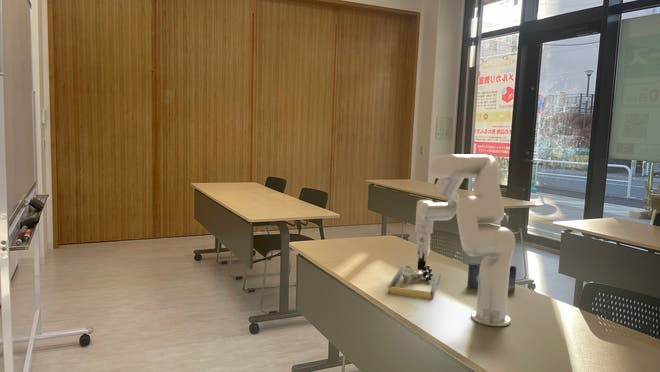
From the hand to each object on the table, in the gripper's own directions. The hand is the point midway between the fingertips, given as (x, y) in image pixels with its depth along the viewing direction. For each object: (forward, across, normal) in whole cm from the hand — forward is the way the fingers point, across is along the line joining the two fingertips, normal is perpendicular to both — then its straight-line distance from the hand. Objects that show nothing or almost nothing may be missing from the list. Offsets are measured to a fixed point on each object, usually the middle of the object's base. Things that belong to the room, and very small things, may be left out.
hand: (421, 269), depth 217 cm
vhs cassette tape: (+2, -9, -29) cm, 31 cm away
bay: (+2, -18, 0) cm, 18 cm away
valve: (+2, -12, +1) cm, 13 cm away
